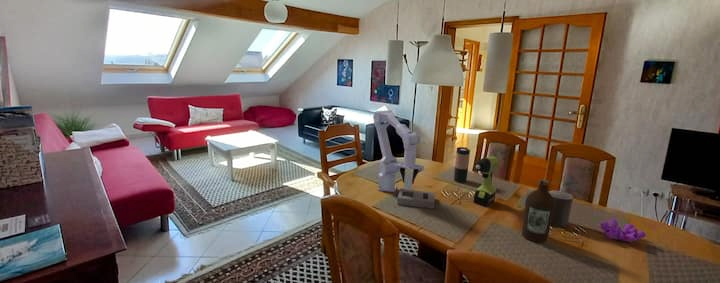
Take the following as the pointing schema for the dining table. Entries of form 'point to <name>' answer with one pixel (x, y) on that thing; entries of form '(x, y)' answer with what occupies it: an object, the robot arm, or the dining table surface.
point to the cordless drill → (486, 181)
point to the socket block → (416, 198)
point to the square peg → (408, 181)
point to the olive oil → (538, 214)
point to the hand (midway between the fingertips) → (408, 182)
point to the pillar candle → (561, 208)
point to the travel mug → (461, 164)
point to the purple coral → (621, 231)
